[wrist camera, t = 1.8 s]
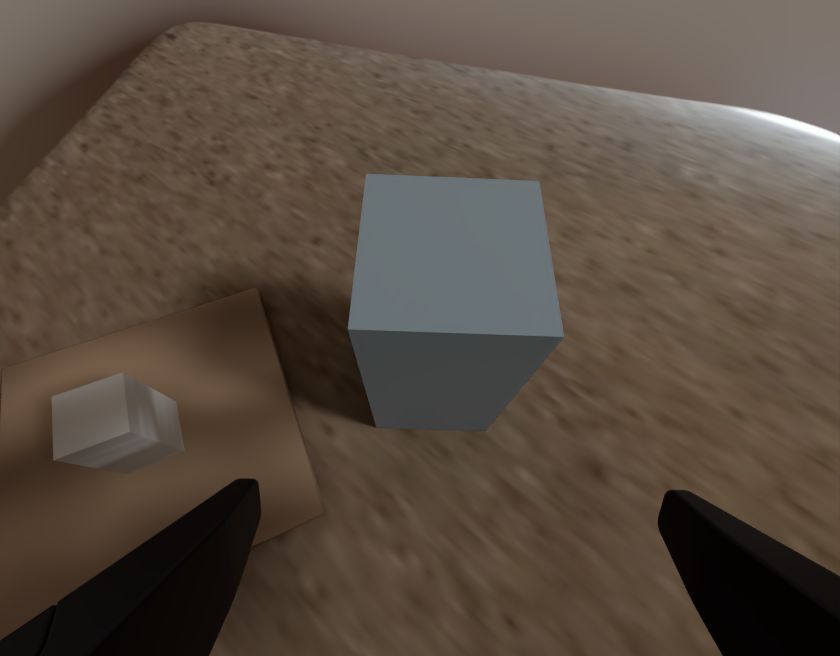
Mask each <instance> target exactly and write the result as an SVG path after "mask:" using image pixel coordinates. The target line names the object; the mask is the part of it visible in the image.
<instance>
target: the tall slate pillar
mask: <svg viewBox="0 0 840 656" xmlns="http://www.w3.org/2000/svg"><path fill="white" fill-rule="evenodd" d="M348 332H349V335H350V339H351V342H352V346H353V349H354V353H355V356H356V360H357V363H358V366H359V370H360V373H361V377H362V380H363V384H364V387H365V390H366V394H367V397H368V401H369V404H370V408H371V411H372V415H373V418H374V421H375V425H376V428H397V429H430V430H464V431H486V430H487V429H488V428H489V426H490V425H491V424H492V423H493V422H494V420H495V419H496V418H497V417H498V416H499V414H500V413H501V412H502V411H503V410H504V408H505V407H506V406H507V405H508V404H509V402H510V401H511V400H512V399H513V398H514V396H515V395H516V394H517V393H518V392H519V390H520V389H521V388H522V387H523V386H524V384H525V383H526V382H527V381H528V380H529V378H530V377H531V376H532V375H533V374H534V372H535V371H536V370H537V369H538V368H539V366H540V365H541V364H542V363H543V362H544V360H545V359H546V358H547V357H548V356H549V354H550V353H551V352H552V351H553V350H554V348H555V347H556V346H557V345H558V344H559V342H560V341H561V340H562V339H563V338H564V333H563V327H562V321H561V314H560V308H559V302H558V296H557V289H556V283H555V277H554V271H553V264H552V258H551V252H550V246H549V239H548V233H547V227H546V221H545V214H544V208H543V202H542V196H541V189H540V183H539V181H522V180H498V179H475V178H452V177H428V176H405V175H381V174H366V180H365V188H364V196H363V205H362V213H361V222H360V230H359V238H358V247H357V255H356V264H355V272H354V281H353V289H352V297H351V306H350V314H349V323H348Z"/></svg>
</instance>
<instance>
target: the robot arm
mask: <svg viewBox="0 0 840 656" xmlns="http://www.w3.org/2000/svg"><path fill="white" fill-rule="evenodd" d="M260 518H261V500H260V491H259V484H258V481H257V480H256V479H251V478H239V479H236V480H234V481H233V482H231V483H230V484H228V485H227V486H225V487H224V488H222V489H221V490H220V491H218V492H217V493H215V494H214V495H212V496H211V497H209V498H208V499H206V500H205V501H204V502H202V503H201V504H199V505H198V506H196V507H195V508H193V509H192V510H190V511H189V512H187V513H186V514H185V515H183V516H182V517H180V518H179V519H177V520H176V521H174V522H173V523H171V524H170V525H169V526H167V527H166V528H164V529H163V530H161V531H160V532H158V533H157V534H155V535H154V536H152V537H151V538H150V539H148V540H147V541H145V542H144V543H142V544H141V545H139V546H138V547H136V548H135V549H133V550H132V551H131V552H129V553H128V554H126V555H125V556H123V557H122V558H120V559H119V560H117V561H116V562H115V563H113V564H112V565H110V566H109V567H107V568H106V569H104V570H103V571H101V572H100V573H98V574H97V575H96V576H94V577H93V578H91V579H90V580H88V581H87V582H85V583H84V584H82V585H81V586H80V587H78V588H77V589H75V590H74V591H72V592H71V593H69V594H68V595H66V596H65V597H63V598H62V599H61V600H59V601H58V603H57V606H56V605H52V606H50V607H49V608H47V609H46V610H44V611H43V612H41V613H40V614H38V615H37V616H36V617H34V618H33V619H31V620H30V621H28V622H27V623H25V624H24V625H22V626H21V627H19V628H18V629H16V630H15V631H13V632H12V633H10V634H9V635H7V636H6V637H4V638H3V639H1V640H0V656H209V655H210V652H211V650H212V648H213V646H214V643H215V641H216V639H217V636H218V634H219V632H220V630H221V627H222V625H223V623H224V620H225V618H226V616H227V614H228V611H229V609H230V607H231V604H232V602H233V599H234V597H235V595H236V592H237V589H238V586H239V583H240V580H241V577H242V574H243V571H244V568H245V565H246V562H247V559H248V556H249V553H250V550H251V547H252V543H253V540H254V537H255V534H256V531H257V528H258V525H259V522H260ZM658 528H659V531H660V533H661V535H662V538H663V540H664V542H665V544H666V546H667V548H668V551H669V553H670V555H671V557H672V559H673V561H674V564H675V566H676V568H677V570H678V572H679V574H680V577H681V579H682V581H683V583H684V585H685V587H686V590H687V592H688V594H689V596H690V598H691V600H692V602H693V604H694V606H695V608H696V609H697V611H698V613H699V615H700V617H701V619H702V620H703V622H704V624H705V626H706V627H707V629H708V631H709V633H710V634H711V636H712V638H713V640H714V641H715V643H716V645H717V647H718V648H719V650H720V652H721V654H722V655H723V656H840V576H838V575H837V574H835V573H833V572H831V571H830V570H828V569H826V568H824V567H822V566H821V565H819V564H817V563H815V562H814V561H812V560H810V559H808V558H807V557H805V556H803V555H801V554H799V553H798V552H796V551H794V550H792V549H791V548H789V547H787V546H785V545H784V544H782V543H780V542H778V541H776V540H775V539H773V538H771V537H769V536H768V535H766V534H764V533H762V532H761V531H759V530H757V529H755V528H753V527H752V526H750V525H748V524H746V523H745V522H743V521H741V520H739V519H738V518H736V517H734V516H732V515H730V514H729V513H727V512H725V511H723V510H722V509H720V508H718V507H716V506H715V505H713V504H711V503H709V502H707V501H706V500H704V499H702V498H700V497H699V496H697V495H695V494H693V493H692V492H690V491H686V490H669V491H667V492H666V493H665V495H664V499H663V502H662V506H661V509H660V513H659V516H658Z"/></svg>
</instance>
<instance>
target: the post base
mask: <svg viewBox="0 0 840 656" xmlns="http://www.w3.org/2000/svg"><path fill="white" fill-rule="evenodd" d="M239 478H251V479H256V480H257V481H258V484H259V491H260V500H261V518H260V522H259V525H258V528H257V531H256V534H255V537H254V540H253V543H252V547H251V548H253V547H255V546H257V545H259V544H261V543H263V542H266V541H268V540H270V539H272V538H274V537H277V536H279V535H281V534H283V533H285V532H287V531H290V530H292V529H294V528H296V527H298V526H300V525H303V524H305V523H307V522H309V521H311V520H314V519H316V518H318V517H320V516H322V515H324V514H326V511H325V508H324V505H323V502H322V498H321V495H320V492H319V488H318V485H317V482H316V478H315V475H314V472H313V468H312V465H311V462H310V458H309V455H308V452H307V448H306V445H305V442H304V439H303V435H302V432H301V429H300V425H299V422H298V419H297V415H296V412H295V409H294V405H293V402H292V399H291V395H290V392H289V389H288V385H287V382H286V379H285V376H284V372H283V369H282V366H281V362H280V359H279V356H278V352H277V349H276V346H275V342H274V339H273V336H272V332H271V329H270V326H269V322H268V319H267V316H266V313H265V309H264V306H263V303H262V299H261V296H260V293H259V291H258V289H257V288H256V287H255V288H252V289H249V290H246V291H243V292H240V293H236V294H233V295H230V296H227V297H224V298H221V299H218V300H215V301H212V302H209V303H205V304H202V305H199V306H196V307H193V308H190V309H187V310H184V311H181V312H177V313H174V314H171V315H168V316H165V317H162V318H159V319H156V320H153V321H150V322H146V323H143V324H140V325H137V326H134V327H131V328H128V329H125V330H122V331H118V332H115V333H112V334H109V335H106V336H103V337H100V338H97V339H94V340H91V341H87V342H84V343H81V344H78V345H75V346H72V347H69V348H66V349H63V350H60V351H56V352H53V353H50V354H47V355H44V356H41V357H38V358H35V359H32V360H28V361H25V362H22V363H19V364H16V365H13V366H10V367H7V368H4V369H2V385H1V417H0V640H1V639H3V638H4V637H6V636H7V635H9V634H10V633H12V632H13V631H15V630H16V629H18V628H19V627H21V626H22V625H24V624H25V623H27V622H28V621H30V620H31V619H33V618H34V617H36V616H37V615H38V614H40V613H41V612H43V611H44V610H46V609H47V608H49V607H50V606H52V605H56V606H57V603H58V601H59V600H61V599H62V598H63V597H65V596H66V595H68V594H69V593H71V592H72V591H74V590H75V589H77V588H78V587H80V586H81V585H82V584H84V583H85V582H87V581H88V580H90V579H91V578H93V577H94V576H96V575H97V574H98V573H100V572H101V571H103V570H104V569H106V568H107V567H109V566H110V565H112V564H113V563H115V562H116V561H117V560H119V559H120V558H122V557H123V556H125V555H126V554H128V553H129V552H131V551H132V550H133V549H135V548H136V547H138V546H139V545H141V544H142V543H144V542H145V541H147V540H148V539H150V538H151V537H152V536H154V535H155V534H157V533H158V532H160V531H161V530H163V529H164V528H166V527H167V526H169V525H170V524H171V523H173V522H174V521H176V520H177V519H179V518H180V517H182V516H183V515H185V514H186V513H187V512H189V511H190V510H192V509H193V508H195V507H196V506H198V505H199V504H201V503H202V502H204V501H205V500H206V499H208V498H209V497H211V496H212V495H214V494H215V493H217V492H218V491H220V490H221V489H222V488H224V487H225V486H227V485H228V484H230V483H231V482H233V481H234V480H236V479H239Z"/></svg>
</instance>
